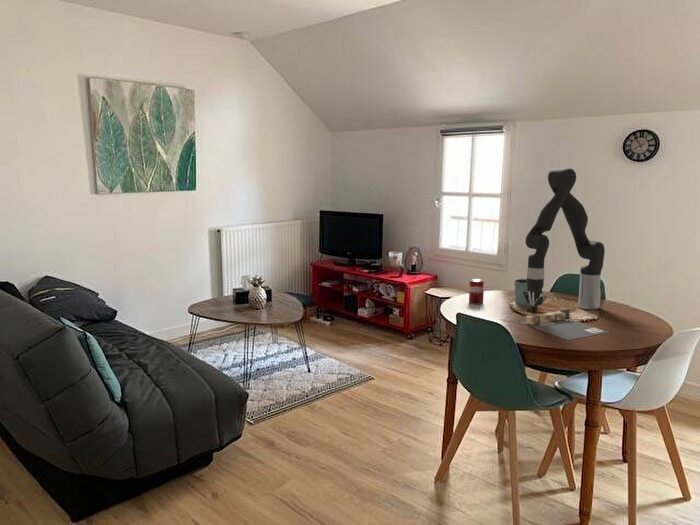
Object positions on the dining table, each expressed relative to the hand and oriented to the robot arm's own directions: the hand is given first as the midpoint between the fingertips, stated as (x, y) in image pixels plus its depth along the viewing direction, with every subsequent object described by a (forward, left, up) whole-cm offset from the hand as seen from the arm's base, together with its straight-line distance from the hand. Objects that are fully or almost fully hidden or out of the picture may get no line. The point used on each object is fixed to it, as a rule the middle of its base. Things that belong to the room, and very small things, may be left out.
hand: (533, 313), depth 250 cm
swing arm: (-2, +8, -2) cm, 8 cm away
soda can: (+7, -34, -2) cm, 35 cm away
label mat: (-1, +17, -2) cm, 18 cm away
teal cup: (-14, -22, -2) cm, 26 cm away
